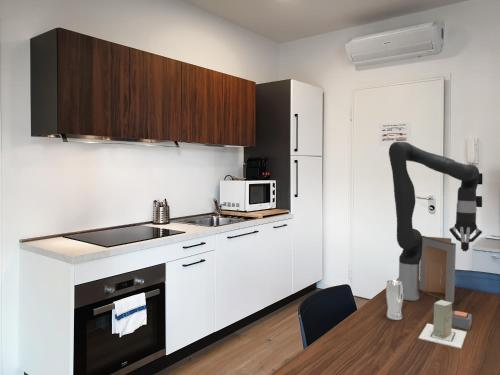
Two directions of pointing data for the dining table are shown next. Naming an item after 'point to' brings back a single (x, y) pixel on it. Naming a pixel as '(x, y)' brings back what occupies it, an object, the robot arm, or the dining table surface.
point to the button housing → (461, 321)
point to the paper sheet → (452, 340)
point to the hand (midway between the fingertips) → (464, 250)
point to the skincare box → (442, 318)
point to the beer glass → (394, 299)
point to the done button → (460, 314)
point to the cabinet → (438, 268)
